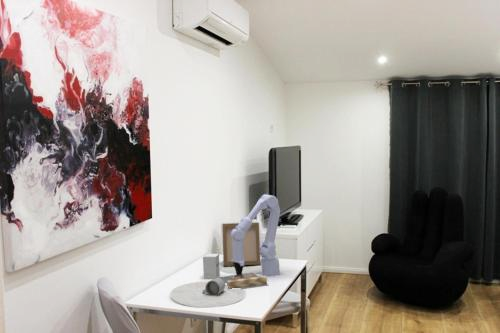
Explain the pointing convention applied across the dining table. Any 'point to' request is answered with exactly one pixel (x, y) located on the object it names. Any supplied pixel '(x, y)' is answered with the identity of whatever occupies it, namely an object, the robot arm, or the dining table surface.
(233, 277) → the grey flat piece
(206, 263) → the supplement box
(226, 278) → the bench mat
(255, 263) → the photo frame
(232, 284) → the bench fence
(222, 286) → the ceramic mug
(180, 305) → the dining table surface
